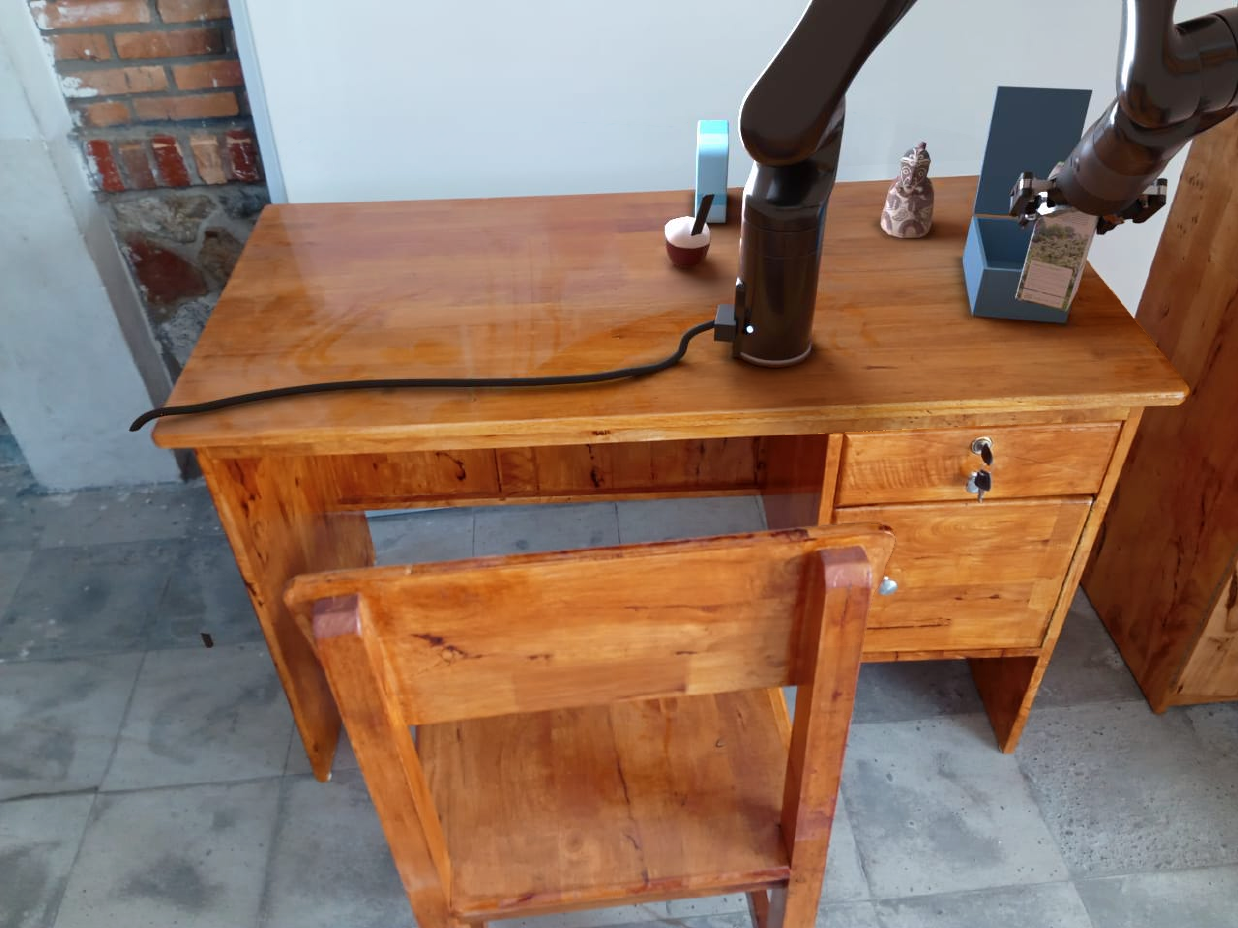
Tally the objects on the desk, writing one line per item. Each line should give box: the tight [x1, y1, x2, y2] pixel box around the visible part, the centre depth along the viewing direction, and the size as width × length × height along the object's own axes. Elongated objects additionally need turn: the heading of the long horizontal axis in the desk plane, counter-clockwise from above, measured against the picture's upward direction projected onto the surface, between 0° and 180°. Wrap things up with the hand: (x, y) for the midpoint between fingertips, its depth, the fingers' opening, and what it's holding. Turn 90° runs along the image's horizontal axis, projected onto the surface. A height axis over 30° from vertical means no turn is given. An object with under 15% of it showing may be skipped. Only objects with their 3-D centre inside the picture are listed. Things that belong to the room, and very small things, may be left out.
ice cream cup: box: [664, 194, 715, 268], centre depth 130 cm, size 10×6×12 cm, turn 2°
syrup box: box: [1015, 162, 1100, 311], centre depth 104 cm, size 6×6×14 cm
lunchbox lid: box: [972, 85, 1093, 217], centre depth 123 cm, size 16×11×1 cm
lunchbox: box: [962, 215, 1074, 324], centre depth 124 cm, size 15×11×7 cm
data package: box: [694, 120, 730, 224], centre depth 143 cm, size 12×4×12 cm, turn 175°
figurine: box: [880, 141, 935, 239], centre depth 137 cm, size 7×7×12 cm
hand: (1062, 224), depth 104 cm, fingers closed on syrup box, 7 cm apart
